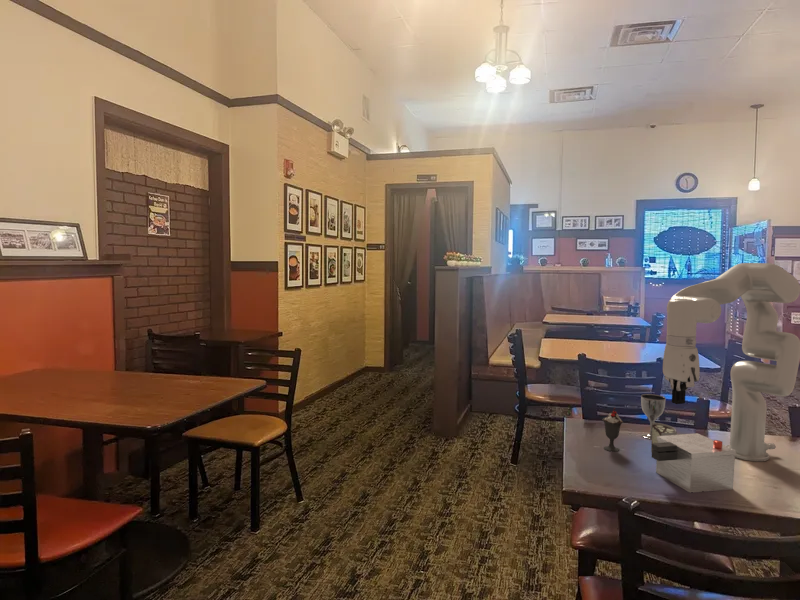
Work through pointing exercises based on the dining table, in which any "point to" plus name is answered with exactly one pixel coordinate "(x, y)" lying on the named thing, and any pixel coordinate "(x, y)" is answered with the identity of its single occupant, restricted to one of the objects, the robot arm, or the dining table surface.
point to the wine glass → (652, 409)
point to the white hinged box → (696, 470)
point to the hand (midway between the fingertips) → (678, 402)
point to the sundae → (612, 429)
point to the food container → (661, 431)
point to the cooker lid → (692, 445)
